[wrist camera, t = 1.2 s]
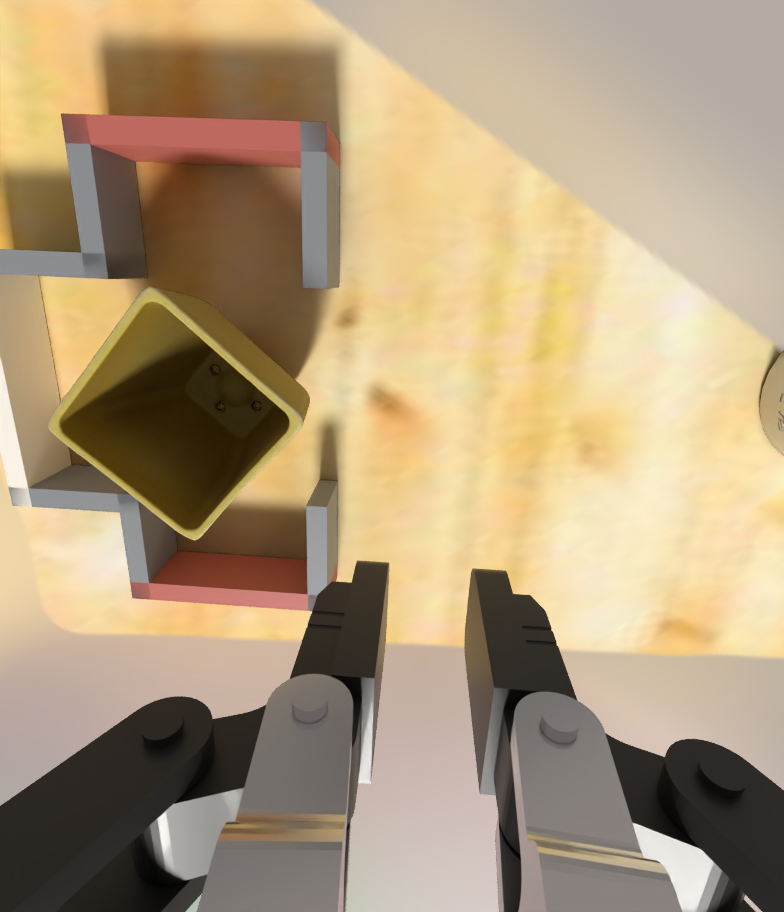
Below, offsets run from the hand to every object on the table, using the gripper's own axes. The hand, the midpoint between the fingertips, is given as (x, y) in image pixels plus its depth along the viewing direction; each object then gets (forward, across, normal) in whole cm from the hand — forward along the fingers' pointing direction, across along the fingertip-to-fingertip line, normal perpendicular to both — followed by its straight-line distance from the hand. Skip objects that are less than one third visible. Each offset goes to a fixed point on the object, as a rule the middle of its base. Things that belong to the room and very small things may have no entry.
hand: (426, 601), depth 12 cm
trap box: (+21, +15, 0) cm, 26 cm away
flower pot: (+21, +12, 0) cm, 24 cm away
